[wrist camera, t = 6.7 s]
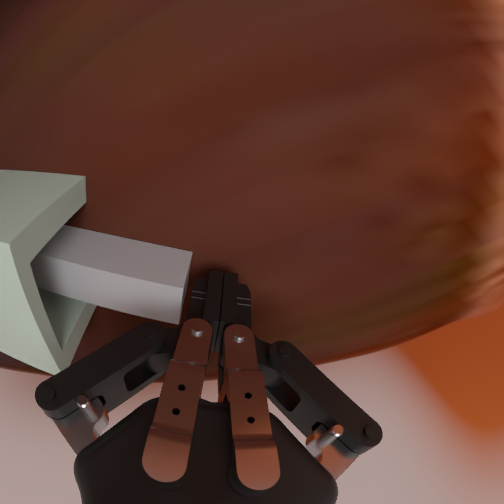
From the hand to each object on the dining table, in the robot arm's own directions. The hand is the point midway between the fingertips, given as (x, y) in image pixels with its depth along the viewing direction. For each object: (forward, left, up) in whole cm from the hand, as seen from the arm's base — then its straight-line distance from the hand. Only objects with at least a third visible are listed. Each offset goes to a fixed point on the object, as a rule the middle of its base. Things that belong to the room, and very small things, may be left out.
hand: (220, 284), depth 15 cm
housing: (-6, -10, -1) cm, 12 cm away
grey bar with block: (-5, -9, -1) cm, 10 cm away
